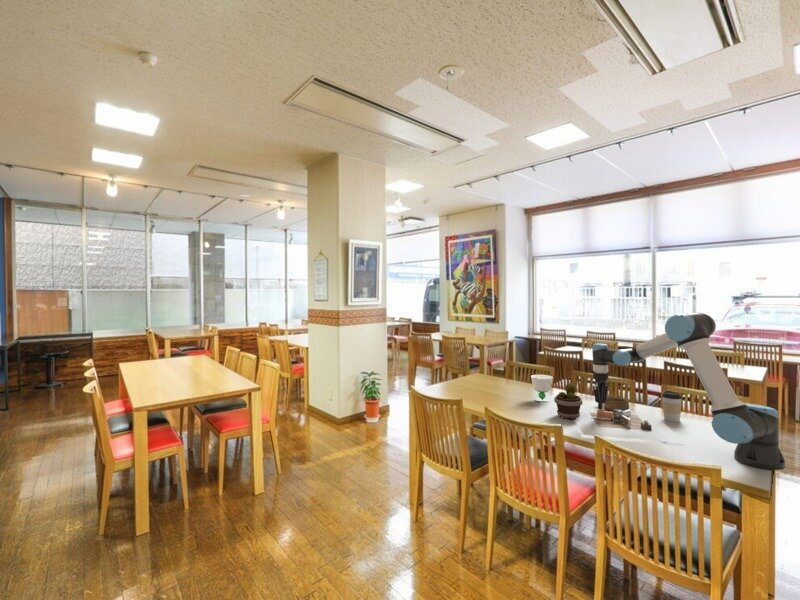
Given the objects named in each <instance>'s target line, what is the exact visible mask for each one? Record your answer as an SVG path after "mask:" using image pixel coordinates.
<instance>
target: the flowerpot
mask: <svg viewBox="0 0 800 600" xmlns="http://www.w3.org/2000/svg"><path fill="white" fill-rule="evenodd" d="M576 392H577V391H576V386H575V384H574V383H573V382H568V383H566V384H565V386H564V391H563V390H561V391H559V392H558V394H556V395H555V397H554V398H553V399H554V403H556V408H557V410H556V412H557V415H558V416H559V417H560V418H561V417H563V418H562V419H564V418H568V419H567V420H569V419H571V420H576V418H578V417H580V416H581V412H580V409H581V406H582V405H583V399H582V398H581V397H580V396H579V395H576Z"/></svg>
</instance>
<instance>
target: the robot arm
mask: <svg viewBox="0 0 800 600" xmlns="http://www.w3.org/2000/svg"><path fill="white" fill-rule="evenodd" d="M716 327H717V324H716V322H715V320H714V319H713V318H712V316H710V315H708V314H706V313H704V312H689V313H688V312H686V313H685V312H680V313H677V314H673V315H672V316H670V317H669V318H668V319H667V320H666V322H665V325H664V331H665V333H663V334H660V335H658V336H656V337H653V338H651V339H649V340H647V341H645V342H642V343H639V344H638V345H635V346H633V347H630V348H623V349H622V348H621V349H612V348H609V345H608V344H607V343H594V344H593V345H592V351H591V352H592V371H593V372H592V378H593V380H595V381H594V383H595V384H594V385H592V389H593V394H594V400H595V403H597V409H598V410H600V411H605V408H604V403H606V402H605V401H607V395H608V391H609V385H610V383H609V382H607V381H608V380H609V364H612V365H618V366H628V365H629V364H632V363H640V362H644V361H645V360H646V359H647V358H650V357H652V356H655V355H658V354H660V353H663V352H666V351H668V350H670V349H673V348H675V347H679V348H680V349H681V350H684V351H685V353H686V354H687V357H688V358H689V361H690V362H691V364H692V367H693V368H694V370H695V372H696V375H697V376H698V379H699V380H700V381H699V382H701V384H702V386H703V388H704V390H705V392H706V394H707V397H708V398H709V400H710V402H711V404H712V407H711V408H710V412H711V414H712V416H713V417H712V421H711V426H712V429H713V431H714V433H715V434H716V435H717V436H718V437H719V438H720V439H722V440H723V441H726V442H727V443H729V444H734V445H736V444H737V445H736V447H735V449H734V451H733V452H734V453H733V454H734V455H733V457H734V459H735V460H737V461H738V462H740V463H741V464H744V465H747V466H751V467H755V468H758V469H762V470H763V469H764V470H769V471H780V470H784V469H786V460H785V458H784V456H783V453H782V451H781V449H780V448H781V447H780V445H779V443H780V440H779V439H780V436H779V435H780V425H779V424H780V422H779V421H780V416H779V411H778V410H777V409H776V408H773V407H771V406H765V405H763V404H762V405H761V404H756V403H749V402H743V401H741V400H739V398H738V396H737V394H736V393H735V390H734V389H733V387H732V386H731V384H730V382H729V380H728V378H727V376H726V374H725V372H724V370H723V368H722V366H721V365H720V363H719V360H718V359H717V357H716V355H715V353H714V351H713V350H712V348H711V346H710V344H709V343H710V340H711V339H712V338H711V336H712V335H713V334H714V333H715V331H716Z"/></svg>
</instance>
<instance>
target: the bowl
mask: <svg viewBox="0 0 800 600" xmlns="http://www.w3.org/2000/svg"><path fill="white" fill-rule="evenodd" d="M605 402H606V403H604V410H605V411H606V410H607V411H608V412H613V413H614V409H619V410H623V411H625V410H630V405H629V404H630V400H628V399H627V398H623V397H621V398H620V397H613V396H610V395H608V394H607V401H605Z"/></svg>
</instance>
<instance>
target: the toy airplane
mask: <svg viewBox="0 0 800 600" xmlns="http://www.w3.org/2000/svg"><path fill="white" fill-rule="evenodd" d="M589 414H590V416H591V419H593V420H594V422H595V424H596V425H597V427H599V428H601V427H602V428H610V429H612V428H614V429H629V430H644V431H652V424H651V423H650V422H649V421H648V420H647V419H645V420H642V418H640V417H639V416H638V415H637V414H635V415H633V414H631V417H628V418H630V419H631V426H628V425H626V424H624V423H622V422H616V421H612V420H611V419H608V418H600V417H597V412H589ZM613 417H614V413H613Z"/></svg>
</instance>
